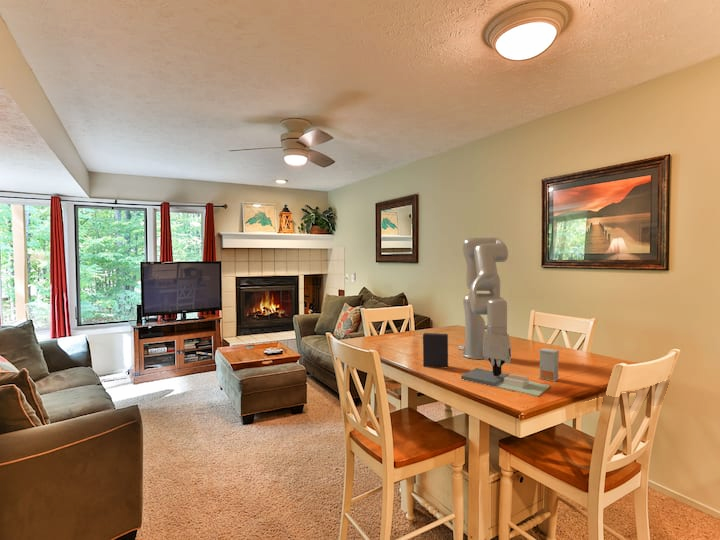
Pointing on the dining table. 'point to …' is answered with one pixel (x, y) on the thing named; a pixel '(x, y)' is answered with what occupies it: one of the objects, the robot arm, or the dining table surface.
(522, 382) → the coaster tile
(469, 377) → the board
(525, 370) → the dining table surface
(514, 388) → the mat
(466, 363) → the dining table surface
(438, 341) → the black rectangular block
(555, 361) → the skincare box
